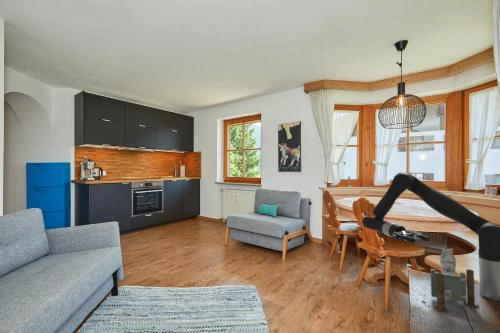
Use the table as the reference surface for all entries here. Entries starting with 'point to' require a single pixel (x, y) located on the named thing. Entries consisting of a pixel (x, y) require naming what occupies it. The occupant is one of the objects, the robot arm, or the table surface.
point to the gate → (451, 285)
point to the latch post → (441, 293)
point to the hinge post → (470, 290)
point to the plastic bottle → (448, 261)
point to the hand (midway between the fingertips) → (421, 240)
